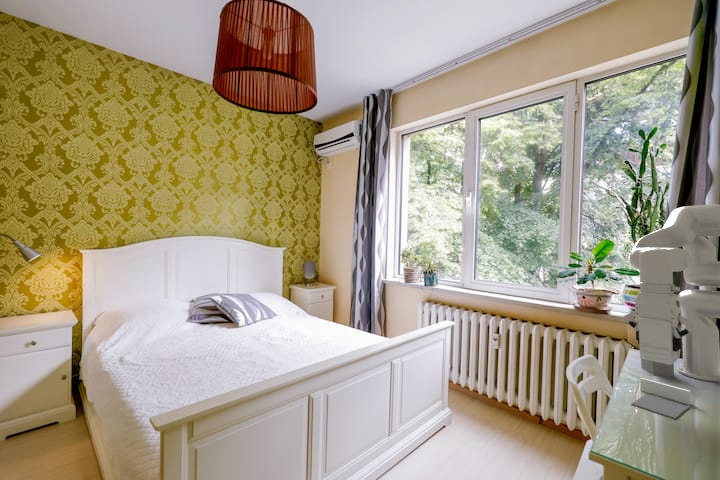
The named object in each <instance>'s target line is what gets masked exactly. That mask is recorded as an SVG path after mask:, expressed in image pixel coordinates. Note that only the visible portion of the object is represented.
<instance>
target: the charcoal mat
mask: <svg viewBox="0 0 720 480" xmlns="http://www.w3.org/2000/svg"><path fill="white" fill-rule="evenodd" d="M631 405H632V406H634V407H636V408H640V409H643V410H647V411H649V412H652V413H655V414H658V415H662V416H663V417H667V418H671V419H673V420H677V418H679V417H680V416H682V414H684V413H685V412H686V411H687V410H689V409H690V405H687V404H684V403H681V402H677V401H674V400H671V399H667V398H664V397H661V396H657V395H654V394H651V393H646V394H645V395H643V396H641V397H639V398H638V399H637V400H635V401H633V402H631Z"/></svg>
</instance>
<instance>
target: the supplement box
mask: <svg viewBox="0 0 720 480" xmlns="http://www.w3.org/2000/svg"><path fill="white" fill-rule="evenodd" d="M638 322H639V343H640V344H639V357H640V360H641V359H645V360H650V361H654V362H659V363H664V364H669V365H672V364H673V363H674V364H675V363H676V362H678V351H677V352H675V351H673V341H672V338H673V337H674V335H673V333H672V328H671V322H670V321H664V320H657V319H650V318H642V317H640V318H638Z"/></svg>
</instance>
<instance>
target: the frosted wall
mask: <svg viewBox="0 0 720 480" xmlns="http://www.w3.org/2000/svg"><path fill="white" fill-rule="evenodd" d="M639 382H640V388H639V389H640V391H642V392H645V393H647V394H650V395H654V396H657V397H661V398H664V399H667V400H671V401H674V402H677V403H681V404H684V405H687V406H690V405H691V404H692V393H691V392H692V391H691V390H689V389H686V388H682V387H678V386H674V385H671V384H667V383H663V382H659V381H655V380H652V379H647V378H644V377H640V379H639Z"/></svg>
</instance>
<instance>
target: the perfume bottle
mask: <svg viewBox="0 0 720 480" xmlns="http://www.w3.org/2000/svg"><path fill="white" fill-rule="evenodd" d="M640 363H641V364H640V365H641V366H640V368H641V369H643V371H646V372H647V373H649V374H651V375H653V376H668V375H669V376H668V377H670V376H672V377H674V376H675V366H674V365H675V363H673V364H672V365H669V364H664V363H659V362H654V361H650V360H645V359H640Z"/></svg>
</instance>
